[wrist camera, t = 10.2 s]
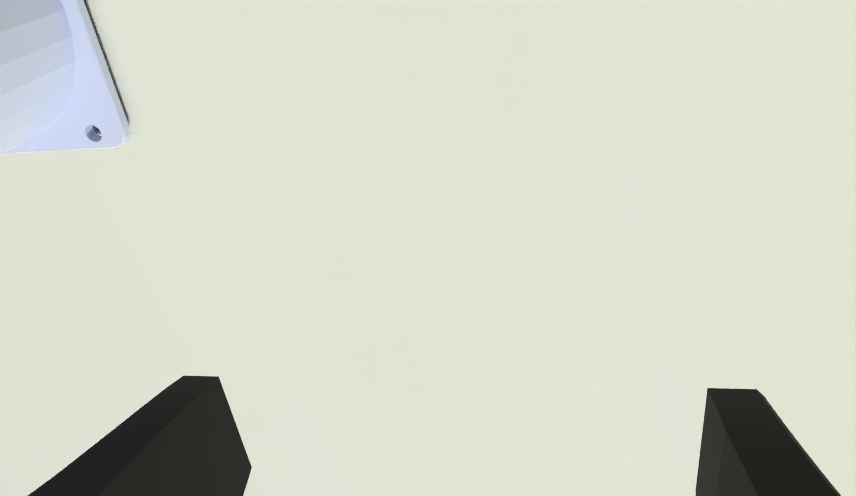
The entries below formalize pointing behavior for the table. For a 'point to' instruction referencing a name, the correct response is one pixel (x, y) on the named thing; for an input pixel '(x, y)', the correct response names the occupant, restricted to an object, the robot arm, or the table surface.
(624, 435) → the table surface
